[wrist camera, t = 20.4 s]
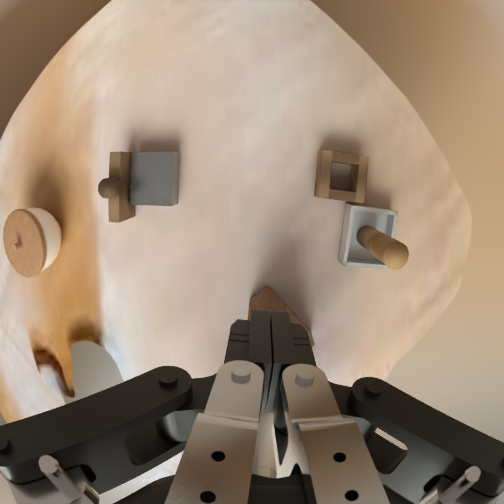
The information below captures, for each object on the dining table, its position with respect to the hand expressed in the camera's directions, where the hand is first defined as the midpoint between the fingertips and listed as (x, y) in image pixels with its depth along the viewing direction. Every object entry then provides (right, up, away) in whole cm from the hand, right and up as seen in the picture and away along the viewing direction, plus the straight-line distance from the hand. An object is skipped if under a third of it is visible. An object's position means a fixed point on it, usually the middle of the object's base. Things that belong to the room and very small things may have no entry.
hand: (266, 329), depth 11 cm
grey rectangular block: (-13, +13, +25) cm, 31 cm away
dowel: (+15, +5, +26) cm, 30 cm away
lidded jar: (-35, +6, +28) cm, 45 cm away
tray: (+15, +6, +26) cm, 31 cm away
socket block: (+11, +13, +24) cm, 29 cm away
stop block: (-18, +13, +25) cm, 33 cm away
